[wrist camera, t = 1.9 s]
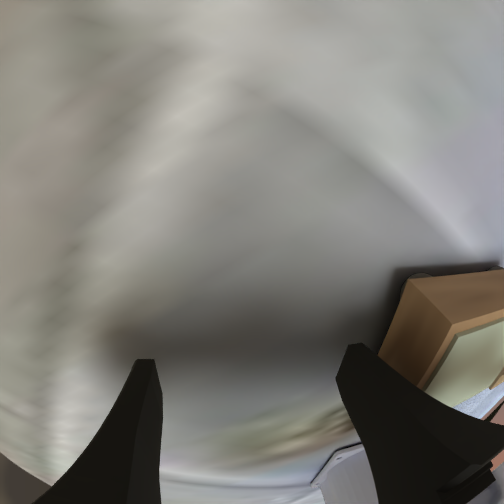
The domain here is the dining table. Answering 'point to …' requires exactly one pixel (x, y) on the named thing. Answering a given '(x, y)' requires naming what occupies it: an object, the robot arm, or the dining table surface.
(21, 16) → the dining table surface
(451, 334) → the open box
